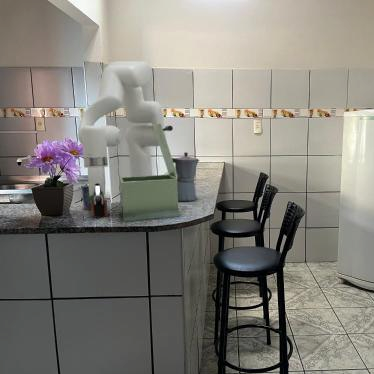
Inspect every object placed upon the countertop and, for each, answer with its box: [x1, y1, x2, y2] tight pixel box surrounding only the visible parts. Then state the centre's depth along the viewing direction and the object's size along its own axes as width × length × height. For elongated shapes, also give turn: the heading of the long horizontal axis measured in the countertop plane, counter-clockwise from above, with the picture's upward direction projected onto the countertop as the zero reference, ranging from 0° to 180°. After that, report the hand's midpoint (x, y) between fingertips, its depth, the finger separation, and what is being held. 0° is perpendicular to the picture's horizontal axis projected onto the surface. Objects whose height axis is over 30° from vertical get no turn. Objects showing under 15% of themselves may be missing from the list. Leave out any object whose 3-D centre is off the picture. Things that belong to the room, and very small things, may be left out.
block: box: [90, 197, 109, 219], centre depth 126 cm, size 5×5×6 cm
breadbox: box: [119, 174, 180, 223], centre depth 125 cm, size 18×15×13 cm
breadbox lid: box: [153, 123, 178, 179], centre depth 126 cm, size 18×15×5 cm
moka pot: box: [168, 152, 200, 202], centre depth 151 cm, size 10×15×20 cm, turn 134°
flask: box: [81, 184, 105, 211], centre depth 136 cm, size 9×3×11 cm, turn 72°
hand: (100, 213), depth 126 cm, fingers open, 6 cm apart
